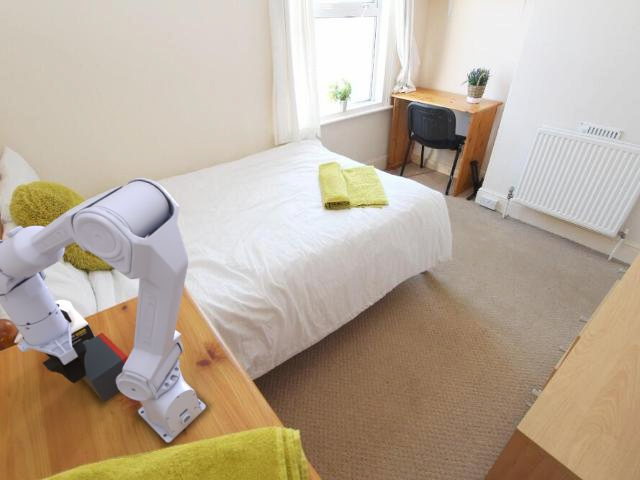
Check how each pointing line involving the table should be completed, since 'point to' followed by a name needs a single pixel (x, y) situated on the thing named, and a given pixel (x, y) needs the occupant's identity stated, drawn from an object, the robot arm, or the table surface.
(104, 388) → the grey and red box
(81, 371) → the robot arm
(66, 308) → the medicine bottle
